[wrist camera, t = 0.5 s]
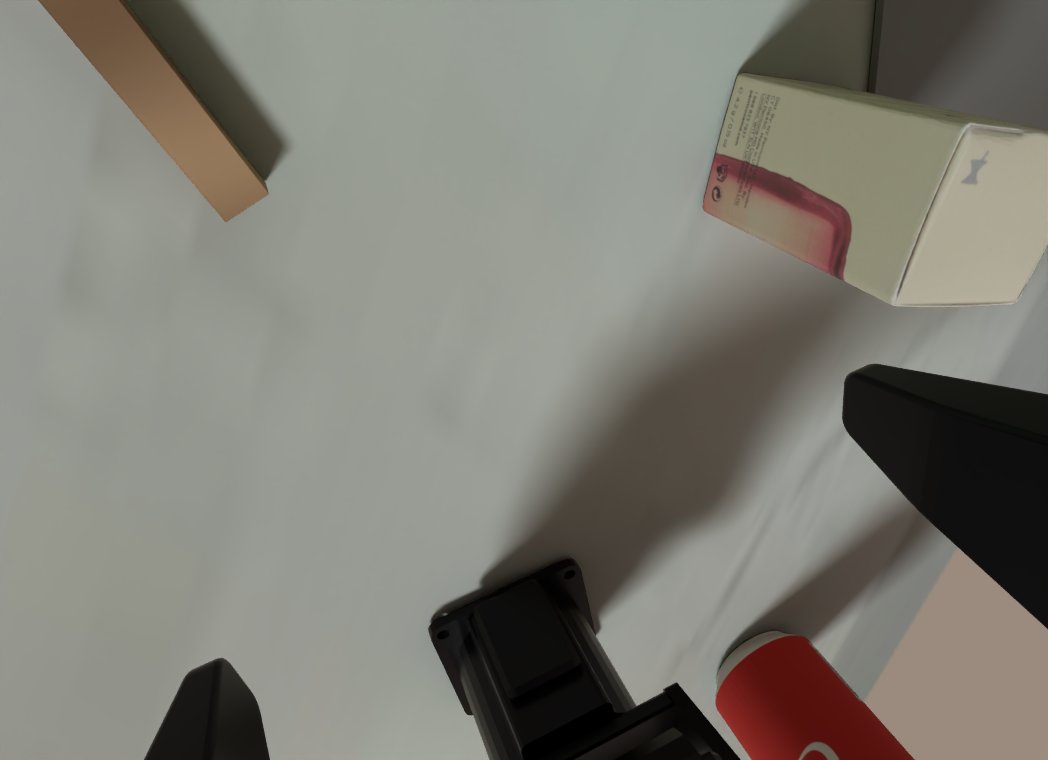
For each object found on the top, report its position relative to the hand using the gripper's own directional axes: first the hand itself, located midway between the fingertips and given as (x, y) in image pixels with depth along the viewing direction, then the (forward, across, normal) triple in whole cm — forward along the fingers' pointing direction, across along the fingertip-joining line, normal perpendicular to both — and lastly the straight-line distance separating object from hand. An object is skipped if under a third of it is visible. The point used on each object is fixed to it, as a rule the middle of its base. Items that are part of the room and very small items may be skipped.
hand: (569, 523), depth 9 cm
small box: (+12, -13, +1) cm, 18 cm away
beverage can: (+14, -12, +30) cm, 35 cm away
